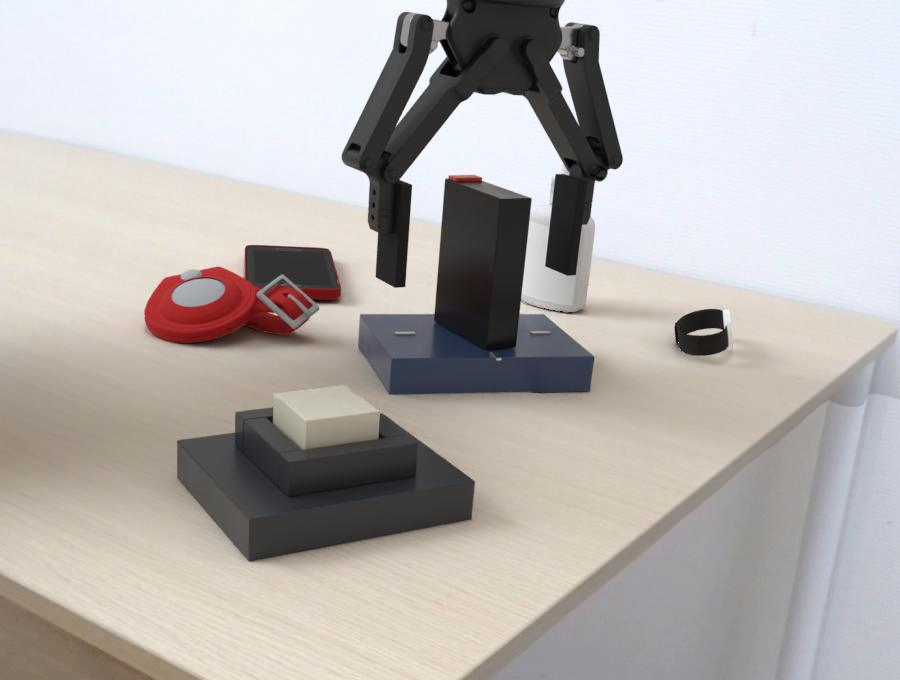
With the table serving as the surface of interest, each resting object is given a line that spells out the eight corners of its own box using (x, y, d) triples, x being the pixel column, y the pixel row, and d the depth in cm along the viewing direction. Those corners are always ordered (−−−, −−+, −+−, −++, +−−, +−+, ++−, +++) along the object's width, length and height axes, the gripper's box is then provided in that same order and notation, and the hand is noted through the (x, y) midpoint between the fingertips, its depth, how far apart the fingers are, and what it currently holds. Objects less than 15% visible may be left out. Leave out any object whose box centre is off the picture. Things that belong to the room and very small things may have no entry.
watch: (734, 367, 87) (743, 320, 86) (670, 359, 88) (678, 312, 86) (730, 339, 94) (738, 295, 93) (671, 331, 95) (678, 287, 93)
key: (304, 454, 56) (306, 420, 56) (272, 425, 60) (273, 392, 59) (378, 443, 58) (380, 410, 58) (343, 415, 62) (344, 384, 61)
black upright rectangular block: (516, 347, 79) (532, 194, 75) (486, 350, 78) (501, 195, 74) (462, 318, 84) (475, 174, 80) (433, 320, 83) (444, 174, 79)
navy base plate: (391, 398, 75) (393, 359, 74) (356, 344, 85) (358, 309, 84) (593, 394, 79) (598, 357, 78) (537, 343, 89) (541, 309, 88)
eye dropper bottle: (547, 316, 96) (564, 167, 92) (513, 297, 101) (527, 155, 96) (591, 313, 98) (610, 167, 93) (556, 295, 103) (572, 155, 98)
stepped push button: (248, 563, 53) (250, 482, 52) (176, 478, 61) (176, 406, 60) (471, 520, 59) (479, 447, 58) (380, 448, 67) (384, 382, 66)
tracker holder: (147, 333, 79) (130, 263, 87) (161, 386, 82) (144, 313, 90) (320, 294, 82) (290, 229, 89) (329, 346, 85) (299, 279, 92)
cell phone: (329, 258, 108) (330, 247, 107) (342, 301, 94) (342, 290, 94) (244, 254, 106) (244, 244, 106) (244, 298, 93) (244, 286, 93)
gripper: (631, -51, 80) (592, 254, 88) (296, -86, 68) (285, 272, 76) (705, -47, 75) (656, 279, 83) (353, -85, 62) (336, 303, 70)
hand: (478, 276), depth 79 cm, fingers open, 13 cm apart
